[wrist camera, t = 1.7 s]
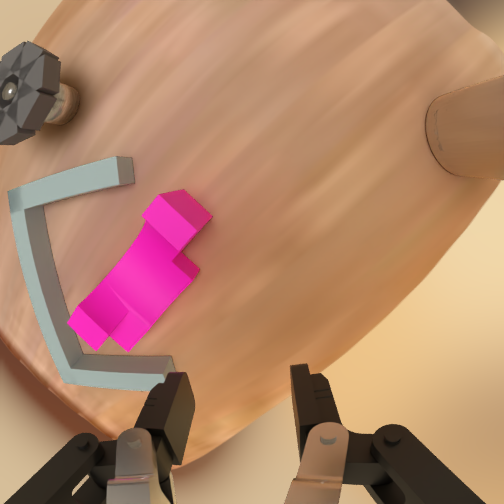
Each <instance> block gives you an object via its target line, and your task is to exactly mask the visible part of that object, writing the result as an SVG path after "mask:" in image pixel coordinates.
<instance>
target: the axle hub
mask: <svg viewBox="0 0 504 504" xmlns="http://www.w3.org/2000/svg"><path fill="white" fill-rule="evenodd" d="M17 91H18V84H15V83H12V82H9V83H8V84H7V85H6V86H5V87H4V89H3V92H2V98H3V99H4V100H8V101H13V99H14V97H15V95H16V93H17ZM53 96H54V97H55V98H57V100H56V102H55V104H54V105H53V107H52V109H51V111H50V112H49V114H48V116H47V118H46V119H45V121H44V122H46V123H52V124H58V125H63V124H66V123H67V122H69V121H70V120H71V119H72V118H73V117H74V115H75V114H76V112H77V110H78V107H79V103H80V97H79V93H78V91H77V90H76V89H75V88H72V87H70V86H67V85H65V84H62V83H60V90H59V93H57V94H55V95H53Z"/></svg>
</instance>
